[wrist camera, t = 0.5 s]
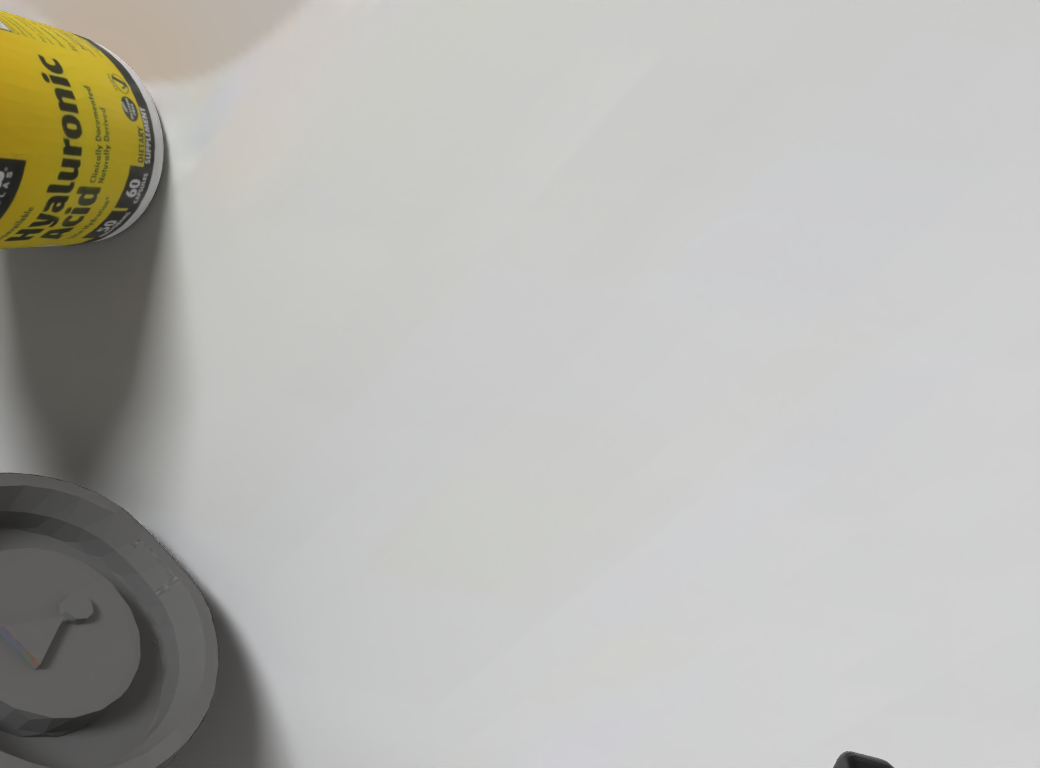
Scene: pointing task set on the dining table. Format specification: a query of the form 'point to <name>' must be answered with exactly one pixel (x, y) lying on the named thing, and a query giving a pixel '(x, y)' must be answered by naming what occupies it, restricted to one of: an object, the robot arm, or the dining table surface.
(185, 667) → the bluetooth speaker
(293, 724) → the dining table surface
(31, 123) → the supplement bottle
